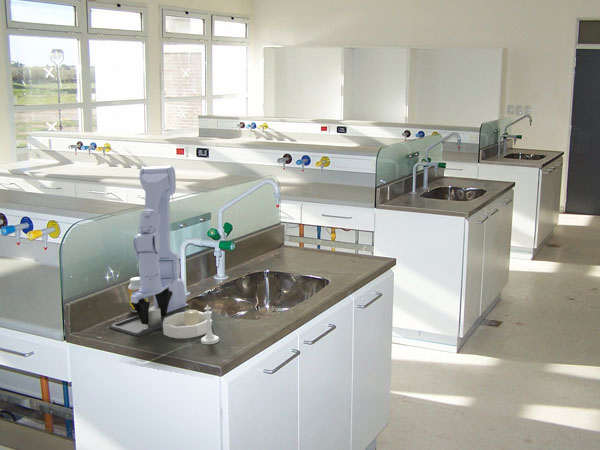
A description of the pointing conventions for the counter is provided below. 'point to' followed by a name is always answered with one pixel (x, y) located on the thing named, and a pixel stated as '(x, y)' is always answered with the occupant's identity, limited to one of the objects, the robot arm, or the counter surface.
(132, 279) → the supplement bottle
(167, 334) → the bowl
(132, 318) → the tray
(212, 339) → the chess piece
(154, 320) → the pebble grey
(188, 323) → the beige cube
